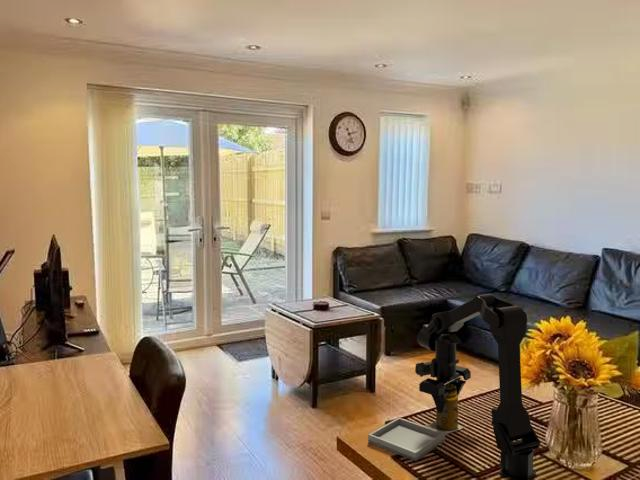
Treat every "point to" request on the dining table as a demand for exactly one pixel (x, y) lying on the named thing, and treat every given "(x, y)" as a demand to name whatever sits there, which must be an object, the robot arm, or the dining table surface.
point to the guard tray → (406, 438)
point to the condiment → (448, 413)
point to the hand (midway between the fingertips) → (445, 408)
